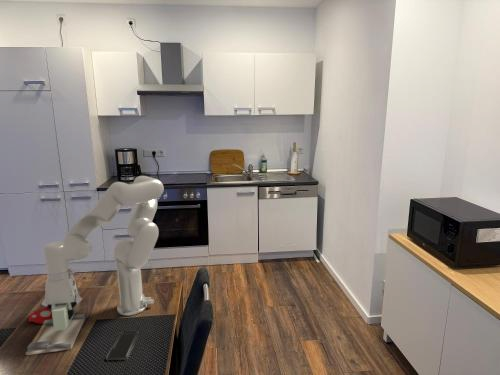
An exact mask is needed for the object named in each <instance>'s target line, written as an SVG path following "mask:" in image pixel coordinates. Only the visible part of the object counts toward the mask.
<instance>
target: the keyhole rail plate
mask: <svg viewBox="0 0 500 375" xmlns="http://www.w3.org/2000/svg"><path fill="white" fill-rule="evenodd" d="M85 316H86V315H85V314H84V313H83V314H74V316H73V317H72V319H71V321H70V323H69V325H68V327H67V329H66V330H58V331H54V325H53V319H50V320H45V321H44V323H43V324H42V325H41V327H40V329H39V330H38V331H37V333H36V335H35V337H34V338H33V339H32V341H31V342H30V343H29V344H28V346H27V348H26V349H27V351H26V352H25V355H26V356H29V355H36V354H37V355H38V354H39V355H40V354H47V353H52V352H54V353H55V352H61V351H66V350H67V351H68V350H72V348H73V346H74V344H75V343H76V340H77V338H78V336H79V333H80V332H81V329H82V326H83V325H84V323H85V321H86V317H85Z"/></svg>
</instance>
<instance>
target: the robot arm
mask: <svg viewBox="0 0 500 375" xmlns="http://www.w3.org/2000/svg"><path fill="white" fill-rule="evenodd" d="M164 190H165V188H164V184H163V183H162V181H161V180H159V179H157V178H155V177H151V176H147V175H139V176H137V177H135V179H134V180H133V183H131V184H130V183H129V184H128V183H126V182H122V181H115V182H113V183H111V185H110V186H109V187H108V188H107V189H106V190H105V192H104V194H102V196H101V197H100V198H99V200H98V201H97V203H96V204H95V205H94V206H93V208H92V209H91V210H90V211H88V212H87V213H86V214H85V215H84V216H83V217H81V218H80V219H79V220H77V222H76V223H75V224H74V225H73V226H72V227H71V229H70V230H69V231H68V233H67V234H66V235H65V237H64V239H63V241H60V240H59V241H58V240H57V241H53V242H48V243H47V244H45V245H44V248H43V253H44V257H45V258H44V260H45V261H44V262H45V267H46V275H47V276H46V277H47V278H46V280H45V285H44V286H45V288H44V294H45V297H44V299H43V301H42V302H41V306H44V307H46V306H47V307H48V308H49V309H51V311H52V310H53V309H54V307H55V306H56V304H64V303H67V305H68V319H69V320H71V318H72V316H73V315H75V314H74V310H73V307H74V306H75V305H76V304H77V303H79V302H80V303H81V302H82V300H83V298H82V297H81V296H80V294H79V295H78V293H79V291H78V292H77V287H76V282H75V279H76V278H75V276H74V274H75V270H72V269H71V267H70V266H71V265H70V261H77V260H83V259H85V258H88V257H89V256H90V255H91V254H92V251H93V247H92V244H91V243H90V241H88V240H87V238H88V237H89V236H90V235H91V233H92V232H93V231H94V230H95V229H98V228H99V227H101V226H104V225H107V224H109V223H111V222H112V221H113V220H114V218H115V217H116V216H117V213H118V212H119V211H120V210H121V208H123V206H125V207H128V206H129V207H130V206H135V205H136V207H135V210H134V212H133V214H132V216H131V218H130V220H129V222H128V225H127V227H126V232H127V235H129V237H131V238H132V239H133V240H131V239H122V240H119V241H118V242H117V243H116V244H115V245H114V249H113V258H114V263H115V266H116V272H117V284H118V293H119V294H118V295H119V304H118V305H117V307H116V311H117V313H118V314H119V315H121V316H129V317H130V316H134V315H135V316H136V315H139V314H140V313H142V312H144V311H145V310H146V308H147V307H148V304H150V305H151V304H154V298H152V297H151V296H148V297H146V296H145V294H144V293H143V282H142V270H141V268H142V267H144V266H145V265H147V263H148V261H149V259H150V256H151V254H152V253H153V250H154V248H155V246H156V243H157V241H158V238H159V235H160V234H159V232H160V231H159V227H158V226H157V225H158V224H156V223H154V222H153V220H154V218H155V214H156V212H157V210H158V199H159V198H160V197H161V196H162V195H163V193H164ZM74 278H75V279H74ZM75 298H76V300H75Z"/></svg>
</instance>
